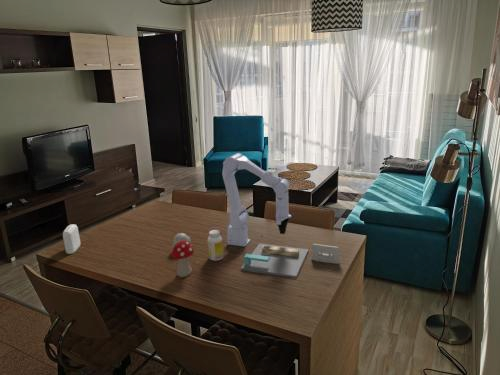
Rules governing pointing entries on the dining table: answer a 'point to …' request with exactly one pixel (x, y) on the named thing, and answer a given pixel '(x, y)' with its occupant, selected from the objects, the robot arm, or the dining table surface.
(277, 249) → the beech link
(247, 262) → the plate
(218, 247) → the supplement bottle
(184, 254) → the decorative mushroom
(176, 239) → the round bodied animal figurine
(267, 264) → the light grey baseplate
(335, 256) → the cassette
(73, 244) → the photo printer
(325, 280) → the dining table surface
